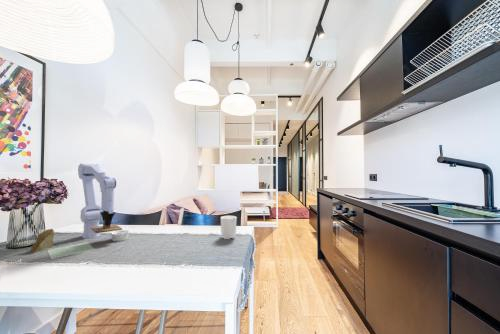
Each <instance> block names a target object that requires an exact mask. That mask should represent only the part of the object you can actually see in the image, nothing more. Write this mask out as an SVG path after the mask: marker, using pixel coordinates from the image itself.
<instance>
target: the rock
mask: <svg viewBox="0 0 500 334" xmlns="http://www.w3.org/2000/svg"><path fill="white" fill-rule="evenodd" d="M54 236H55V230H54V229H53V228H50V229H49V228H48V229H45V230H44V231H42V232H41V233H39V234H38V237H37V238H36V240H35V242H34V243H33V244H32V246H31V249H30V251H29V254H35V253H38V252H41V251H44V250H46V249H49V248H52V247H54Z"/></svg>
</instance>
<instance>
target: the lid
mask: <svg viewBox="0 0 500 334" xmlns="http://www.w3.org/2000/svg"><path fill="white" fill-rule="evenodd" d="M102 222H103V223H102V225H101V226H100V225H99V227H91V230H93V231H94V232H95V233H99V234H100V233H107V232H108V233H109V232H115V231H120V230H123V228H122V227H121V226H120V225H117V224H111V225H109V226H106V225H105V220H103V219H102Z"/></svg>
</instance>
